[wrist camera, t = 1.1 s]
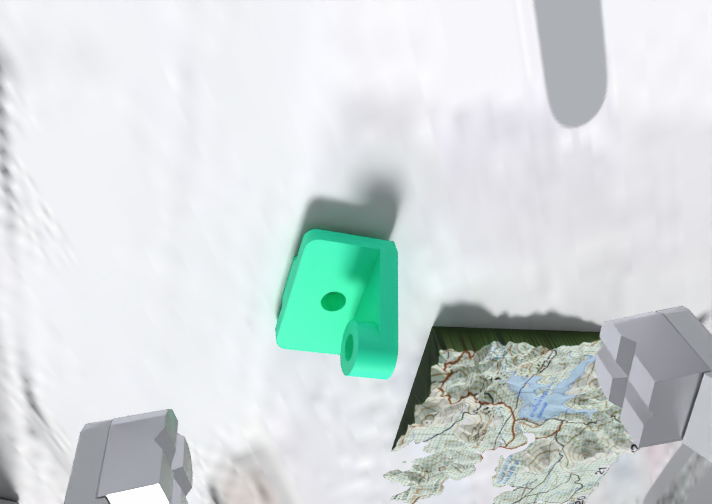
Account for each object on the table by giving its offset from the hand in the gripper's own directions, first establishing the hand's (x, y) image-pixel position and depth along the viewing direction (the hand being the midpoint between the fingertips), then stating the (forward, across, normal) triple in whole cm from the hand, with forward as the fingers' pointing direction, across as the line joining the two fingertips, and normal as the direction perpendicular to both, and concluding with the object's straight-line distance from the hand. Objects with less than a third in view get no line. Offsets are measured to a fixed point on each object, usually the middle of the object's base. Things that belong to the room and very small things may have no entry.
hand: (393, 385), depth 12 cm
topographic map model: (+37, -18, +55) cm, 69 cm away
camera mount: (+36, 0, +26) cm, 45 cm away
